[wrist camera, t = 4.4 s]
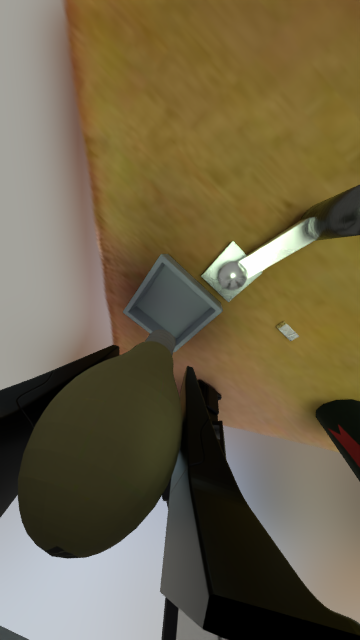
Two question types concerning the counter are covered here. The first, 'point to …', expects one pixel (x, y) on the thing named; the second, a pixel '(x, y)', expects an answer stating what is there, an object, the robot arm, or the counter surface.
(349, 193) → the crank
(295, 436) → the counter surface
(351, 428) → the wine bottle
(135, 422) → the light bulb
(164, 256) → the tray
